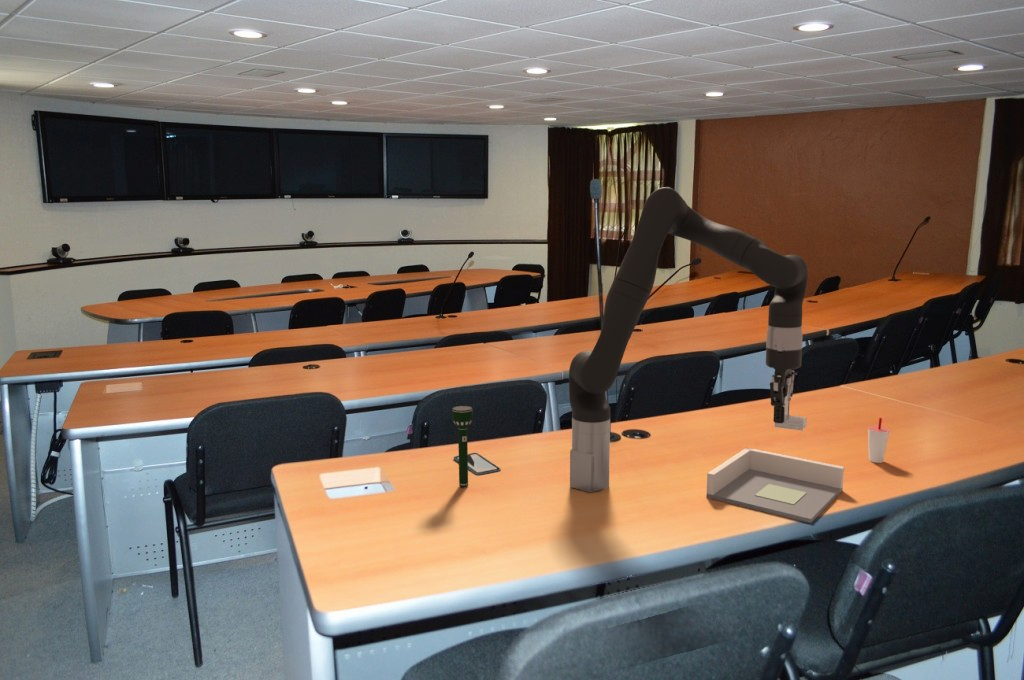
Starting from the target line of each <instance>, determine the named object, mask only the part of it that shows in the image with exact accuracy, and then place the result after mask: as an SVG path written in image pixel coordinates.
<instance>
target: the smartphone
mask: <svg viewBox="0 0 1024 680" xmlns="http://www.w3.org/2000/svg"><path fill="white" fill-rule="evenodd" d="M453 460H454V461H455V462H457V463H458V464H459V455H455V456H453ZM469 471H470V472H471V473H473V474H474V475H476V476H483V475H487V474H493V473H498V472H501V467H499V466H497V465H496V464H495V463H493V462H492V461H490V460H488V459H487V458H486V457H484V456H483V455H481V454H479V452H471V453H468V472H469Z"/></svg>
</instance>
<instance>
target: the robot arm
mask: <svg viewBox="0 0 1024 680" xmlns="http://www.w3.org/2000/svg"><path fill="white" fill-rule="evenodd" d="M668 235H672V236H675V237H678V238H681V239H684V240H687V241H690V242H692V243H694V244H698V245H699V246H701V247H704V248H705V249H707V250H710V251H711V252H713V253H715V254H717V255H718V256H720V257H723V259H726V260H727V261H729V262H731V263H734V264H735V265H737V266H739V267H741V268H743V269H745V270H748V271H749V272H751V273H752V274H753V275H754V276H756V277H757V278H759V279H760V280H761V281H763V282H764V283H766V284H767V285H770V286H771V287H772V288H773V287H774V295H773V298H772V300H771V301H770V302H769V306H768V320H767V321H768V322H767V323H768V325H767V331H766V338H765V339H766V341H765V342H766V343H765V344H766V345H765V365H766V366H767V367H768V368H771V369H774V374H773V375H771V381H770V382H769V391H770V392H769V393H770V395H769V396H770V406H773V418H772V419H773V420H772V421H773V423H774V424H775V423H783V422H784V416H785V405H786V404H785V402H786V397H788V395H789V404H788V415H790V402H791V401H792V398H793V395H794V392H793V391H794V385H795V384H794V383H795V375H796V372H795V370H796V369H799V368H801V367H802V358H803V354H802V353H803V328H802V327H803V326H802V325H803V303H804V299H805V295H806V289H807V285H808V277H809V276H808V275H809V274H808V273H809V271H808V266H807V263H806V261H805V260H804V259H803V258H802V257H801V256H799V255H796V254H787V255H783V254H781V253H778V252H776V251H774V250H773V249H771V248H768V244H766V242H764V241H762V240H761V239H759V238H757V237H755V236H752V235H751V234H748V233H747V232H744V231H742V230H740V229H737V228H734V227H733V226H732V227H731V226H729V225H725V224H721V223H718V222H715V221H713V220H711V219H709V218H707V217H705V216H703V215H702V214H700V213H698V211H696V210H694V209H693V208H692V207H690V206H689V205H688V204H687V202H686V200H685V199H684V198H683V197H682V196H681V195H680V194H679V192H678V191H677V190H676V189H673V188H672V187H669V186H663V187H659V188H658V189H657V188H656V189H655V190H653V192H651V193H650V194H649V196H648V197H647V198H646V200H645V203H644V205H643V208H642V210H641V214H640V217H639V220H638V223H637V225H636V228H635V231H634V235H633V237H632V239H631V242H630V244H629V247H628V248H627V251H626V253H625V255H624V256H623V257H624V258H623V259H622V262H621V264H620V266H619V269H618V270H617V272H616V274H615V276H614V279H613V280H612V283H611V286H610V287H609V290H608V292H607V295H606V298H605V303H604V311H603V317H602V318H603V320H602V325H601V331H600V335H598V338H597V341H596V343H595V345H594V347H593V349H592V350H582V351H581V352H579V353H577V354H575V356H574V357H573V358H572V360H571V362H570V365H569V371H568V387H569V388H568V391H569V392H568V393H569V394H568V395H569V405H570V408H571V413H572V414H571V449H570V451H569V487H570V488H571V489H572V488H573V489H576V490H580V491H583V492H588V493H592V492H599V491H604V490H606V489H608V488H609V486H610V457H611V455H610V451H611V449H610V448H611V445H610V442H611V407H610V405H609V402H608V400H607V396H606V392H607V391H609V389H611V387H612V386H613V384H614V383H615V380H616V379H617V376H618V373H619V370H620V366H621V364H622V360H623V358H624V355H625V351H626V350H627V346H628V343H629V341H630V339H631V337H632V334H633V333H634V331H635V328H636V326H637V323H638V321H639V319H640V317H641V314H642V312H643V310H644V308H645V306H646V305H647V302H648V300H649V297H650V296H651V294H652V290H653V288H654V284H655V281H656V275H657V269H658V264H659V263H658V261H659V256H660V252H661V250H662V246H663V244H664V242H665V240H666V238H667V236H668ZM783 392H785V393H783ZM776 398H780V401H778V400H776Z"/></svg>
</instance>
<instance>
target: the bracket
mask: <svg viewBox="0 0 1024 680" xmlns="http://www.w3.org/2000/svg"><path fill="white" fill-rule="evenodd" d="M783 393H785V392H783ZM776 400H778V401H780V398H776ZM785 404H786V405H785V416H784V422H783V423H775V422H774V428H778V429H786V430H793V431H794V430H796V431H801V432H802V431H804V430H805V428H806V427H807V418H808V417H806V416H801V415H800V416H798V415H792V414H791V415H790V414H789V415H788V404H789V405H790V402H789V395H788V397H786V402H785Z"/></svg>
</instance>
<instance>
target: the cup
mask: <svg viewBox="0 0 1024 680" xmlns="http://www.w3.org/2000/svg"><path fill="white" fill-rule="evenodd" d="M882 420H883V418H882V417H879V419H878V425H871V426H868V427H867V433H868V434H867V435H868V437H867V439H868V459H869V460H868V461H870V462H872V463H877V464H881V463H883V462H884V460H885V459H884V458H885V454H886V449H887V445H888V439H889V434H890V432H891V430H890V429H889V428H887V427H885V426H882V422H883V421H882Z"/></svg>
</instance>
